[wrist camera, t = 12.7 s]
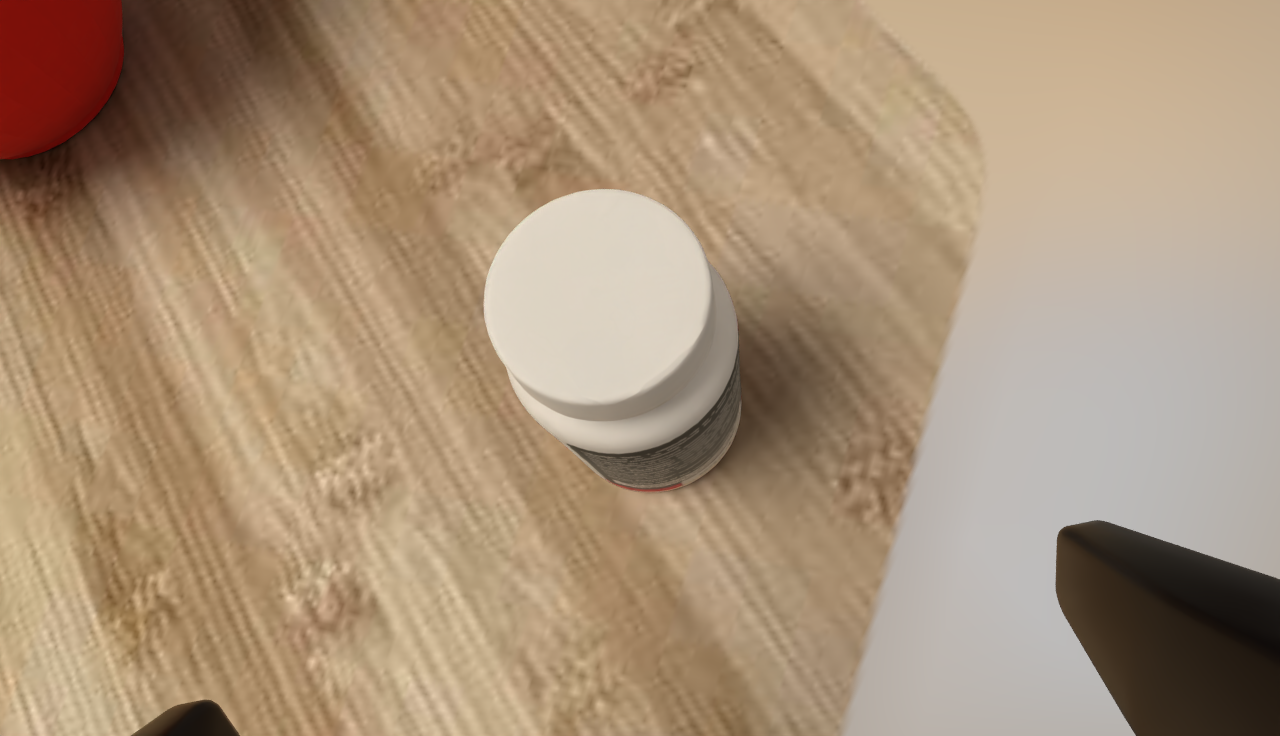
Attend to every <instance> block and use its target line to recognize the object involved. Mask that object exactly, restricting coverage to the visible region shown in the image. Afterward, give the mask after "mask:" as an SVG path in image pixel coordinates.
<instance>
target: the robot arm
mask: <svg viewBox="0 0 1280 736" xmlns="http://www.w3.org/2000/svg"><path fill="white" fill-rule="evenodd" d="M1056 593H1057V598H1058V601H1059V604H1060V607H1061V609H1062V612H1063V614H1064V616H1065V617H1066V619H1067V620H1068V622H1069V624H1070V626H1071V627H1072V629H1073V631H1074V633H1075V634H1076V636H1077V638H1078V639H1079V641H1080V643H1081V644H1082V646H1083V648H1084V650H1085V651H1086V653H1087V655H1088V656H1089V658H1090V660H1091V661H1092V663H1093V665H1094V666H1095V668H1096V670H1097V672H1098V673H1099V675H1100V676H1101V678H1102V680H1103V682H1104V683H1105V685H1106V687H1107V688H1108V690H1109V692H1110V694H1111V695H1112V697H1113V699H1114V700H1115V702H1116V704H1117V705H1118V707H1119V709H1120V710H1121V712H1122V714H1123V715H1124V717H1125V719H1126V720H1127V722H1128V723H1129V725H1130V727H1131V728H1132V730H1133V732H1134V733H1135V735H1136V736H1280V579H1277V578H1274V577H1271V576H1268V575H1265V574H1262V573H1259V572H1256V571H1253V570H1250V569H1247V568H1244V567H1241V566H1238V565H1235V564H1232V563H1229V562H1226V561H1223V560H1220V559H1217V558H1214V557H1211V556H1208V555H1205V554H1202V553H1199V552H1196V551H1193V550H1190V549H1187V548H1184V547H1181V546H1178V545H1175V544H1172V543H1169V542H1166V541H1163V540H1160V539H1157V538H1154V537H1151V536H1148V535H1145V534H1142V533H1139V532H1136V531H1133V530H1130V529H1127V528H1124V527H1121V526H1117V525H1115V524H1111V523H1109V522H1105V521H1098V520H1097V521H1090V522H1086V523H1081V524H1076V525H1071V526H1066V527H1064V528H1063V529H1061V530H1060V531H1059V534H1058V537H1057V556H1056ZM131 736H240V735H239V733H238V732H237V730H236V729H235V728H234V726H233V725H232V723H231V722H230V720H229V719H228V718H227V716H226V715H225V713H224V712H223V710H222V709H221V707H220V706H219V705H218V704H217V703H215V702H213V701H212V700H200V701H195V702H190V703H185V704H180V705H177V706H174V707H172V708H170V709H168V710H167V711H165V712H164V713H163V714H161V715H160V716H158V717H157V718H155V719H154V720H153V721H151V722H150V723H148V724H147V725H145V726H144V727H143V728H141V729H140V730H138V731H137V732H136V733H134V734H133V735H131Z"/></svg>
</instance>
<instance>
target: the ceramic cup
mask: <svg viewBox="0 0 1280 736" xmlns="http://www.w3.org/2000/svg"><path fill="white" fill-rule="evenodd" d="M123 57H124V45H123V37H122V2H121V0H0V159H17V158H23V157H30V156H33V155H36V154H39V153H42V152H45V151H48V150H50V149H52V148H54V147H55V146H57V145H59V144H61V143H63V142H65V141H66V140H68V139H69V138H71V137H72V136H73V135H75V134H76V133H78V132H79V131H80V130H82V129H83V128H84V127H85V126H86V125H87V124H88V123H89V122H90V121H91V120H92V119H93V118H94V117H95V116H96V115H97V114H98V113H99V111H100V110H101V109H102V107H103V106H104V105H105V104H106V102H107V101H108V99H109V97H110V96H111V94H112V92H113V90H114V88H115V86H116V85H117V82H118V79H119V76H120V73H121V70H122V64H123Z"/></svg>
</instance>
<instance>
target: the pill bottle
mask: <svg viewBox="0 0 1280 736" xmlns="http://www.w3.org/2000/svg"><path fill="white" fill-rule="evenodd" d="M484 317H485V322H486V326H487V330H488V334H489V337H490V340H491V342H492V344H493V347H494V349H495V351H496V353H497V354H498V356H499V358H500V359H501V361H502V362H503V364H504V365H505V366H506V368H507V372H508V375H509V378H510V381H511V384H512V387H513V389H514V391H515V393H516V395H517V396H518V398H519V400H520V401H521V403H522V404H523V406H524V407H525V409H526V410H527V411H528V412H529V414H530V415H531V416H532V417H533V418H534V419H535V420H536V421H537V422H538V424H540V425H541V426H542V427H543V428H544V429H545V430H547V431H548V432H549V433H550V434H552V435H553V436H554V437H555V438H556V439H558V440H559V441H560V442H561V443H562V444H564V445H565V446H566V447H567V448H568V449H569V450H571V451H572V452H573V453H574V454H575V455H576V456H577V457H579V458H580V459H581V460H582V461H583V462H584V463H585V464H586V465H587V466H588V467H589V468H590V469H592V470H593V471H594V472H595V473H596V474H597V475H599V476H600V477H601V478H603V479H605V480H606V481H608V482H610V483H612V484H614V485H616V486H618V487H621V488H624V489H628V490H632V491H638V492H650V493H654V492H665V491H671V490H674V489H678V488H680V487H683V486H686V485H688V484H690V483H692V482H694V481H696V480H697V479H699V478H700V477H702V476H703V475H705V474H706V473H707V472H708V471H710V470H711V469H712V468H713V467H714V466H715V465H716V464H717V463H718V462H719V461H720V460H721V459H722V457H723V456H724V455H725V454H726V452H727V451H728V449H729V448H730V446H731V444H732V442H733V440H734V437H735V435H736V432H737V429H738V426H739V421H740V416H741V404H742V396H741V383H740V361H739V332H738V320H737V316H736V312H735V309H734V305H733V301H732V299H731V297H730V294H729V291H728V289H727V287H726V285H725V283H724V281H723V279H722V278H721V276H720V275H719V273H718V272H717V270H716V269H715V268H714V267H713V266H712V265H711V264H710V262H709V261H708V260H707V257H706V255H705V252H704V250H703V248H702V246H701V244H700V242H699V240H698V239H697V237H696V236H695V234H694V232H693V231H692V230H691V229H690V228H689V226H688V225H687V224H686V223H685V222H684V221H683V220H682V219H681V218H680V217H679V216H678V215H677V214H676V213H674V212H673V211H672V210H671V209H669V208H668V207H666V206H665V205H663V204H661V203H659V202H657V201H655V200H653V199H651V198H649V197H646V196H643V195H641V194H637V193H634V192H629V191H624V190H616V189H596V190H586V191H580V192H576V193H572V194H570V195H566V196H563V197H560V198H558V199H555V200H552V201H551V202H549V203H547V204H545V205H543V206H542V207H540V208H539V209H537V210H536V211H534V212H533V213H531V214H530V215H529V216H527V217H526V218H525V219H524V220H523V221H522V222H521V223H520V224H518V225H517V226H516V227H515V229H514V230H513V231H512V232H511V233H510V234H509V235H508V237H507V238H506V240H505V241H504V242H503V243H502V245H501V247H500V248H499V250H498V252H497V254H496V256H495V258H494V260H493V262H492V265H491V267H490V270H489V273H488V276H487V280H486V286H485V293H484Z"/></svg>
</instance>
